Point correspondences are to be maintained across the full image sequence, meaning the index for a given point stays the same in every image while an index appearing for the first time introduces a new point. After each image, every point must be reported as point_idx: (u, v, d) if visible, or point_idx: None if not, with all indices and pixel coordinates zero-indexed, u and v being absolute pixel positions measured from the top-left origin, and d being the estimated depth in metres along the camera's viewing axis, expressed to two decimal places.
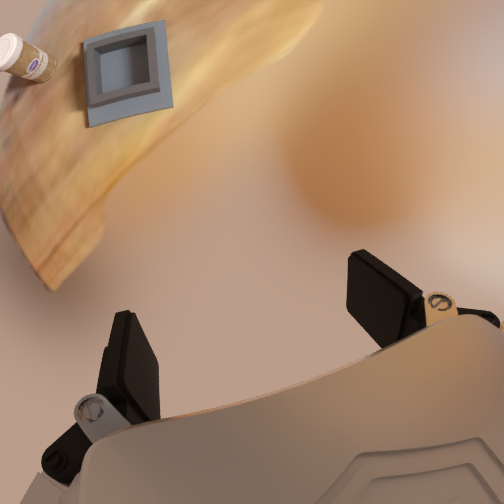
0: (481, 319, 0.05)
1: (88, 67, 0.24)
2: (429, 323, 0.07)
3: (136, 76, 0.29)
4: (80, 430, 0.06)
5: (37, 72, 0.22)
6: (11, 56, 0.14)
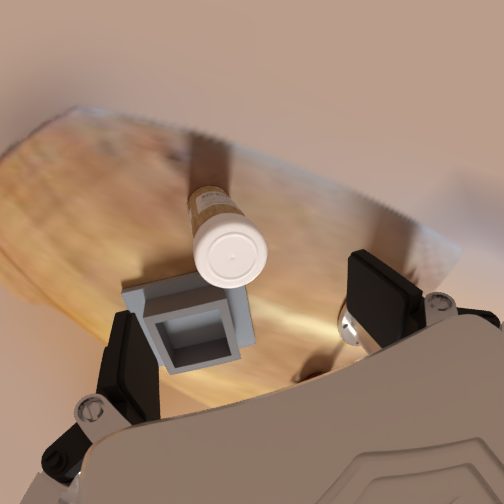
0: (481, 319, 0.05)
1: (191, 308, 0.28)
2: (429, 323, 0.07)
3: (184, 334, 0.33)
4: (80, 430, 0.06)
5: None
6: None
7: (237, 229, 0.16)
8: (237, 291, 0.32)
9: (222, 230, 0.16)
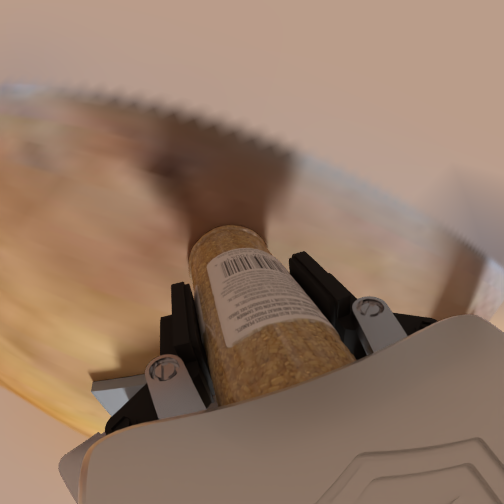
0: (481, 319, 0.05)
1: None
2: (368, 333, 0.07)
3: None
4: (149, 393, 0.07)
5: None
6: None
7: None
8: None
9: None
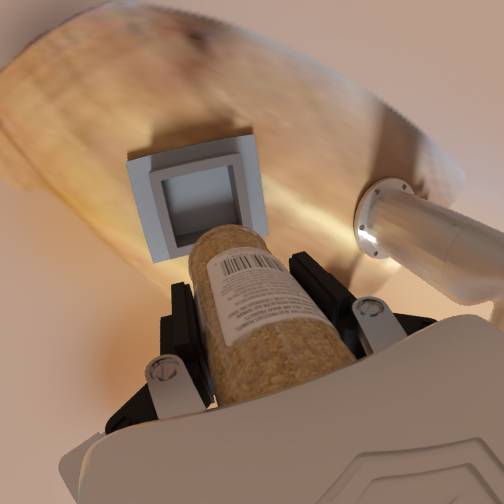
0: (481, 319, 0.05)
1: (203, 161, 0.25)
2: (368, 333, 0.07)
3: (189, 215, 0.30)
4: (149, 393, 0.07)
5: None
6: None
7: None
8: (250, 163, 0.30)
9: None
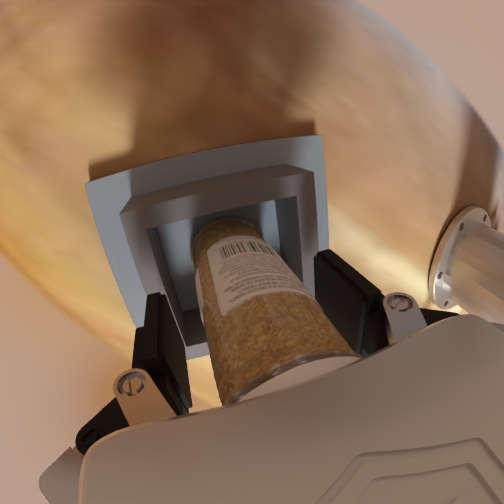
0: (481, 319, 0.05)
1: (238, 188, 0.12)
2: (394, 327, 0.07)
3: None
4: (118, 406, 0.06)
5: None
6: None
7: None
8: None
9: None
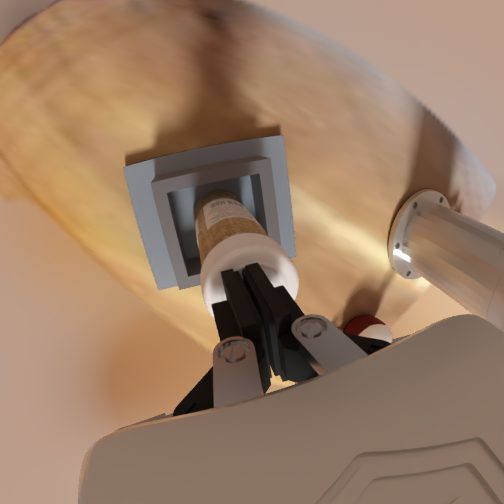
0: (481, 319, 0.05)
1: (222, 169, 0.20)
2: (318, 357, 0.07)
3: None
4: None
5: None
6: None
7: (261, 258, 0.12)
8: (277, 171, 0.24)
9: (242, 260, 0.12)
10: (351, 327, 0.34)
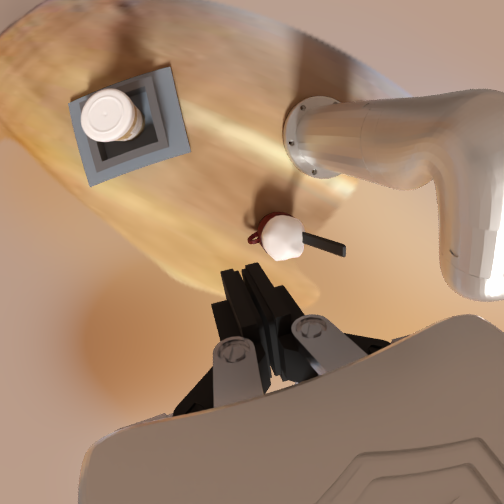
0: (481, 319, 0.05)
1: (121, 87, 0.25)
2: (318, 357, 0.07)
3: None
4: None
5: None
6: (93, 139, 0.19)
7: (107, 93, 0.17)
8: (167, 90, 0.29)
9: (98, 96, 0.17)
10: (261, 222, 0.39)
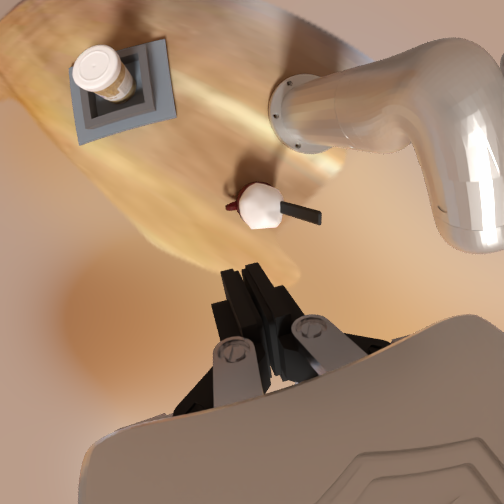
0: (481, 319, 0.05)
1: None
2: (318, 357, 0.07)
3: (109, 102, 0.29)
4: None
5: None
6: None
7: (98, 48, 0.17)
8: (160, 59, 0.29)
9: (89, 50, 0.16)
10: (240, 190, 0.38)
